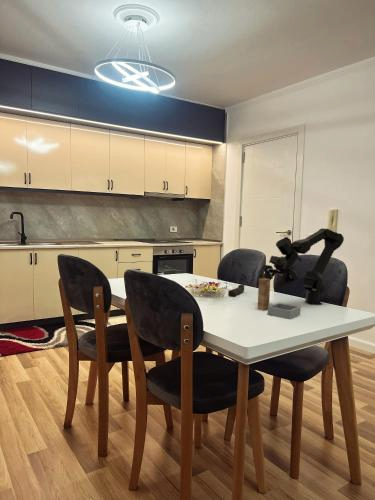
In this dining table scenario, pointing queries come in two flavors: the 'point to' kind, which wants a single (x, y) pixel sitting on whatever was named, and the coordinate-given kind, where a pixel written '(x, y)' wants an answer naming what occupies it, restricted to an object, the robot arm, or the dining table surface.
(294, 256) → the robot arm
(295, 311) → the tray
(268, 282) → the brown wooden block
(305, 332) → the dining table surface
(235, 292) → the hand tool
